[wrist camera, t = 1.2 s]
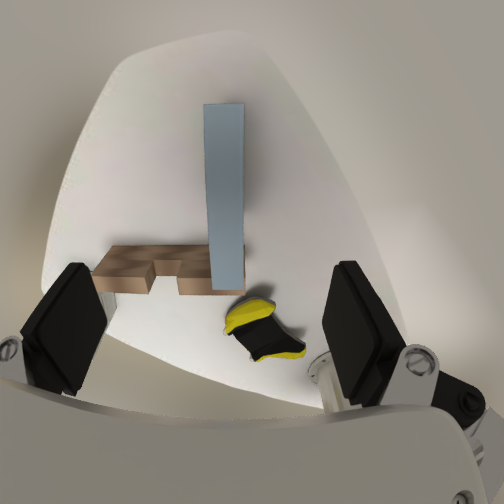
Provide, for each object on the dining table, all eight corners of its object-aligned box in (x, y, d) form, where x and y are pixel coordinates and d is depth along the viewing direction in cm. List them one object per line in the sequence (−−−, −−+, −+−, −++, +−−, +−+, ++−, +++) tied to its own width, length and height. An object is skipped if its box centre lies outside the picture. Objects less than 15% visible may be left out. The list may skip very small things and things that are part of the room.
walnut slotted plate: (244, 244, 38) (245, 278, 31) (244, 260, 39) (245, 295, 32) (112, 246, 37) (89, 276, 30) (115, 260, 39) (95, 291, 32)
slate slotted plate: (242, 214, 36) (243, 289, 22) (223, 214, 36) (212, 289, 22) (242, 107, 29) (244, 103, 15) (221, 107, 29) (203, 104, 15)
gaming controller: (266, 278, 41) (212, 305, 44) (269, 302, 36) (209, 329, 39) (306, 334, 48) (259, 354, 50) (311, 357, 43) (260, 377, 45)
